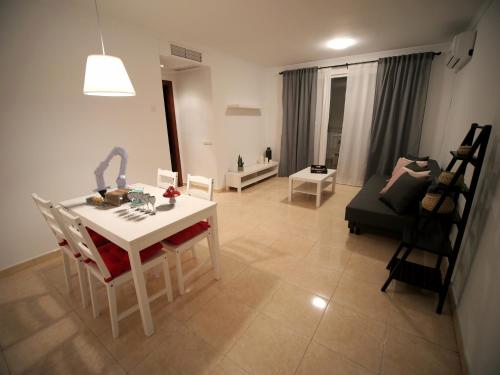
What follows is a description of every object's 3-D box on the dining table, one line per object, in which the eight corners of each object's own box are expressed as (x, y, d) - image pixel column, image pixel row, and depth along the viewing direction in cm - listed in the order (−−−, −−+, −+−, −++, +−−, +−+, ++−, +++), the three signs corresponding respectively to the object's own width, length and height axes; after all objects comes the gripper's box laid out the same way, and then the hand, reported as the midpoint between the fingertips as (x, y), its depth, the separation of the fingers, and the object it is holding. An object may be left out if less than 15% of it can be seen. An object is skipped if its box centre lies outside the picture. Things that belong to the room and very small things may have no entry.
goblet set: (159, 211, 168) (157, 194, 164) (152, 214, 163) (150, 196, 160) (134, 205, 180) (131, 189, 177) (127, 208, 176) (124, 191, 172)
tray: (94, 201, 193) (93, 195, 192) (109, 203, 187) (108, 197, 185) (86, 203, 188) (85, 197, 186) (101, 206, 181) (100, 199, 180)
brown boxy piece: (124, 198, 199) (122, 188, 196) (136, 200, 194) (134, 189, 191) (106, 204, 184) (104, 193, 181) (118, 206, 178) (116, 195, 176)
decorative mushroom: (184, 203, 182) (182, 186, 178) (167, 208, 174) (165, 189, 170) (177, 199, 193) (175, 182, 189) (161, 203, 185) (159, 185, 181)
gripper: (105, 180, 200) (108, 195, 204) (89, 184, 187) (92, 200, 191) (111, 181, 198) (113, 196, 201) (94, 185, 185) (98, 201, 189)
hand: (103, 198), depth 196 cm, fingers closed
